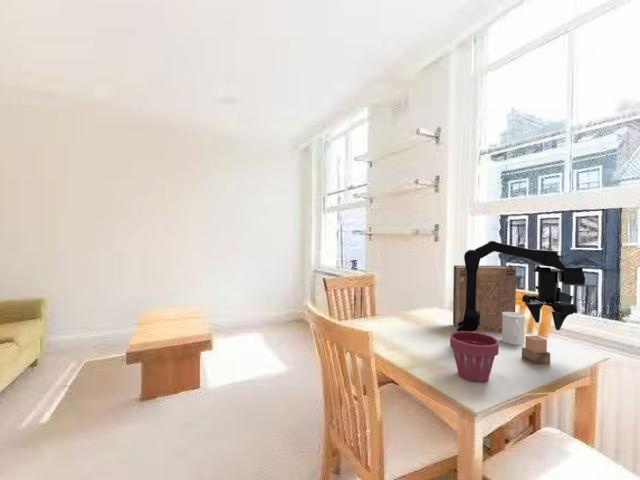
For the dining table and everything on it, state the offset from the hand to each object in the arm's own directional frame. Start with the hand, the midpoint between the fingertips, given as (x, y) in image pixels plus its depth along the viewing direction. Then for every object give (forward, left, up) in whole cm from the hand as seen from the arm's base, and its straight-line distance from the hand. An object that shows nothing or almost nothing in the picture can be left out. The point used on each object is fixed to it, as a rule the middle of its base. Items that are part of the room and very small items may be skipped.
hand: (547, 326), depth 118 cm
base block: (-7, -3, -12) cm, 14 cm away
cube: (-7, -3, -8) cm, 11 cm away
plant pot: (-35, -10, -12) cm, 38 cm away
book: (-1, +37, -12) cm, 39 cm away
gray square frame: (-7, -3, -12) cm, 14 cm away
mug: (-1, +16, -12) cm, 20 cm away
